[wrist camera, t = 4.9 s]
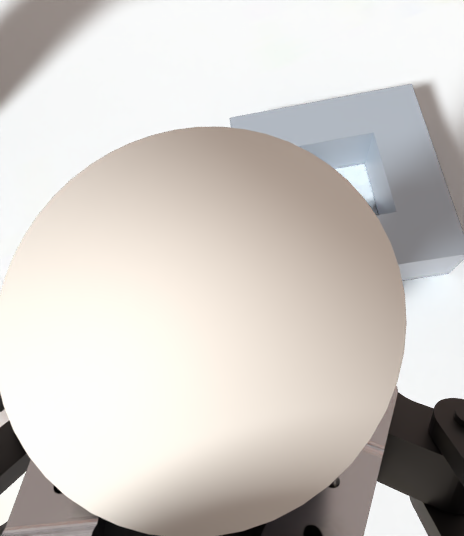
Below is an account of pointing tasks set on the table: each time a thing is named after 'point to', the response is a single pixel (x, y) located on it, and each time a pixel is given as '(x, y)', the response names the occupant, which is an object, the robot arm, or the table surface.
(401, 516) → the table surface
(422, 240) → the socket
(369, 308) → the plug
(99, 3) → the table surface
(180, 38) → the table surface
